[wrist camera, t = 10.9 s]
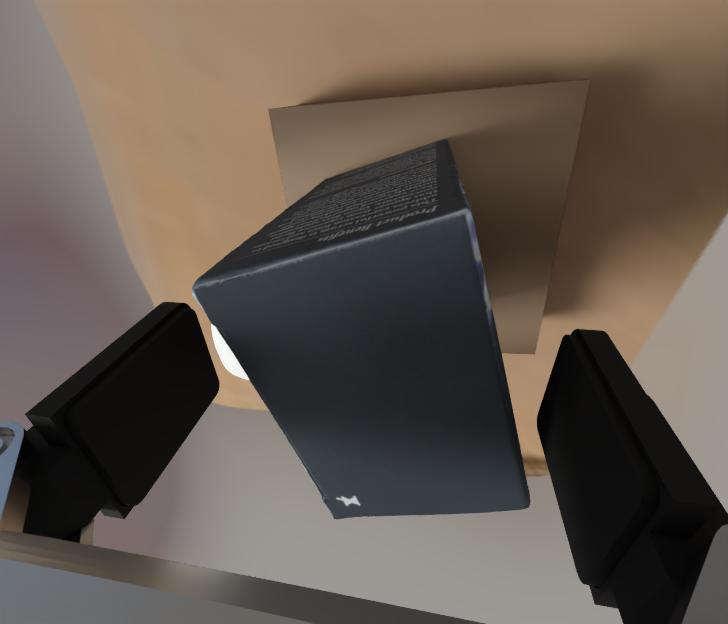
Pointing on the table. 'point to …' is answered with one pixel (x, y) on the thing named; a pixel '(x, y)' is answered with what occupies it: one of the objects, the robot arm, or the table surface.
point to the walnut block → (462, 172)
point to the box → (377, 341)
